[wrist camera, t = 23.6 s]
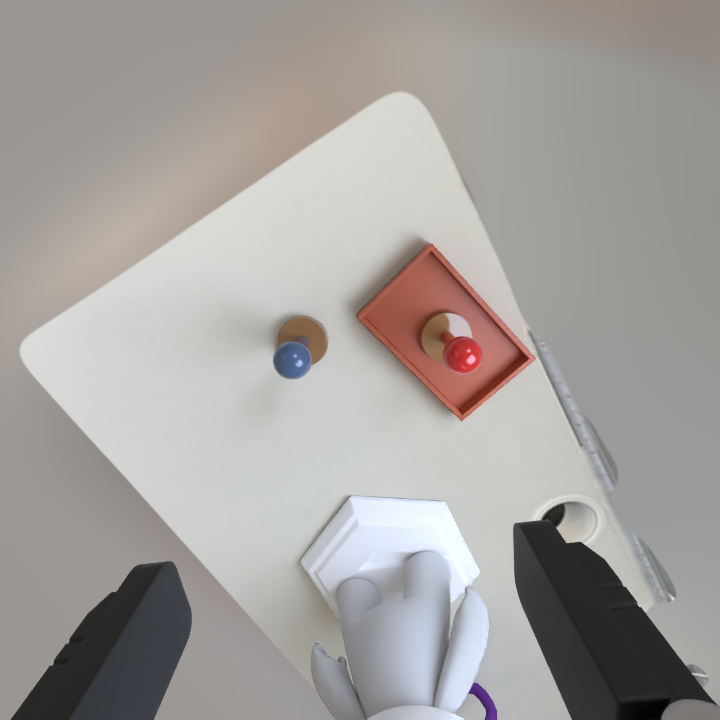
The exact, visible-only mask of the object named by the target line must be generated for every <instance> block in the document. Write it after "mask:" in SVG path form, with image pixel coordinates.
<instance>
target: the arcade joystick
mask: <svg viewBox="0 0 720 720" xmlns="http://www.w3.org/2000/svg"><path fill="white" fill-rule="evenodd" d="M420 341H421V345H422V347H423V349H424V351H425V352H426V354H427V355H428V356H429V357H431V358H432V359H434V360H436V361H440V362H444V365H445V366H446V368H447V369H448V370H449V371H451V372H452V373H454V374H457V375H468V374H471V373H473V372H474V371H476V370H477V369H478V368H479V366H480V365H481V362H482V358H483V352H482V349H481V347H480V345H479V344H478V342H477V341H475V340H474V339H472V330H471V327H470V325H469V323H468V322H467V321H466V320H465V319H464V318H463V317H462V316H460V315H459V314H457V313H455V312H451V311H443V312H439V313H436V314H434V315H432V316H431V317H429V318H428V319H427V320H426V322H425V323H424V325H423V326H422V329H421V333H420Z"/></svg>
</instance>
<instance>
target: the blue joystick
mask: <svg viewBox="0 0 720 720" xmlns="http://www.w3.org/2000/svg"><path fill="white" fill-rule="evenodd" d="M327 346H328V336H327V332H326V330H325V328H324V327H323V325H322V324H321V323H320V322H318V321H317V320H315V319H313V318H311V317H307V316H298V317H294V318H292V319H290V320H289V321H287V322H286V323H285V324H284V325H283V327H282V328H281V330H280V332H279V335H278V348H277V349H276V351H275V353H274V355H273V365H274V368H275V370H276V371H277V373H278V374H279V375H280V376H282V377H284V378H286V379H298V378H301V377H303V376H304V375H305V374H306V373H307V372H308V371H309V369H310V367H311V365H312V364H314V363H316V362H318V361H319V360H320V359H321V358H322V357H323V356H324V354H325V352H326V349H327Z"/></svg>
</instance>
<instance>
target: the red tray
mask: <svg viewBox="0 0 720 720" xmlns="http://www.w3.org/2000/svg"><path fill="white" fill-rule="evenodd" d="M443 311H451V312H455V313H457V314H459V315H460V316H462V317H463V318H464V319H465V320H466V321H467V322H468V323H469V325H470V327H471V330H472V339H474V340H475V341H477V342H478V344H479V345H480V347H481V349H482V352H483V358H482V362H481V365H480V366H479V368H478V369H477V370H476V371H474V372H473V373H471V374H468V375H457V374H454V373H452V372H451V371H449V370H448V369H447V368H446V366H445V365H444V362H440V361H436V360H434V359H432V358H431V357H429V356H428V355H427V354H426V352H425V351H424V349H423V347H422V345H421V341H420V333H421V329H422V326H423V325H424V323H425V322H426V320H427V319H428V318H429V317H431V316H432V315H434V314H436V313H439V312H443ZM357 318H358V319H359V320H360V321H361V322H362V323H363V324H364V325H365V326H366V327H367V328H368V329H369V330H370V331H371V332H372V333H373V334H374V335H375V336H376V337H377V338H378V339H379V340H380V341H381V342H382V343H383V344H384V345H385V346H386V347H387V348H388V349H389V350H390V351H391V352H392V353H393V354H394V355H395V356H396V357H397V358H398V359H399V360H400V361H401V362H402V363H403V364H404V365H405V366H406V367H407V368H408V369H409V370H410V371H411V372H412V373H413V374H414V375H415V376H416V377H417V378H418V379H419V380H420V381H422V382H423V383H424V384H425V385H426V386H427V387H428V388H429V389H430V390H431V391H432V392H433V393H434V394H435V395H436V396H437V397H438V398H439V399H440V400H441V401H442V402H443V403H444V404H445V405H446V406H447V407H448V408H449V409H450V410H451V411H452V412H453V413H454V414H455V415H456V416H457V417H458V418H459V419H460V420H461V421H463V420H464V419H465V418H466V417H467V416H468V415H470V414H471V413H472V412H473V411H474V410H476V409H477V408H478V407H479V406H480V405H482V404H483V403H484V402H485V401H486V400H487V399H489V398H490V397H491V396H492V395H493V394H495V393H496V392H497V391H498V390H499V389H501V388H502V387H503V386H504V385H505V384H506V383H508V382H509V381H510V380H511V379H512V378H514V377H515V376H516V375H517V374H518V373H520V372H521V371H522V370H523V369H524V368H525V367H527V366H528V365H529V364H530V363H531V362H533V361H534V360H535V359H536V358H535V357H534V356H533V355H532V354H531V353H530V351H529V350H528V349H527V348H526V347H525V346H524V345H523V344H522V343H521V341H520V340H519V339H518V338H517V337H516V336H515V335H514V334H513V333H512V332H511V330H510V329H509V328H508V327H507V326H506V325H505V324H504V323H503V322H502V320H501V319H500V318H499V317H498V316H497V315H496V314H495V313H494V312H493V311H492V309H491V308H490V307H489V306H488V305H487V304H486V303H485V302H484V301H483V299H482V298H481V297H480V296H479V295H478V294H477V293H476V292H475V291H474V289H473V288H472V287H471V286H470V285H469V284H468V283H467V282H466V281H465V280H464V278H463V277H462V276H461V275H460V274H459V273H458V272H457V271H456V270H455V268H454V267H453V266H452V265H451V264H450V263H449V262H448V261H447V260H446V259H445V257H444V256H443V255H442V254H441V253H440V252H439V251H438V250H437V249H436V248H435V246H434V245H433V244H430V243H428V244H427V245H426V246H425V247H424V248H423V249H422V250H421V251H420V252H419V253H418V254H417V255H416V256H415V257H414V258H413V259H412V260H411V261H410V262H409V263H408V264H407V265H406V266H405V267H404V268H403V269H402V270H401V271H400V272H399V273H398V274H397V275H396V276H395V277H394V278H393V279H392V280H391V281H390V282H389V283H388V284H387V285H386V286H385V287H384V288H383V289H382V290H381V291H380V292H378V293H377V294H376V295H375V296H374V297H373V298H372V299H371V300H370V301H369V302H368V303H367V304H366V305H365V306H364V307H363V308H362V309H361V310H360V311H359V312H358V313H357Z"/></svg>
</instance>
